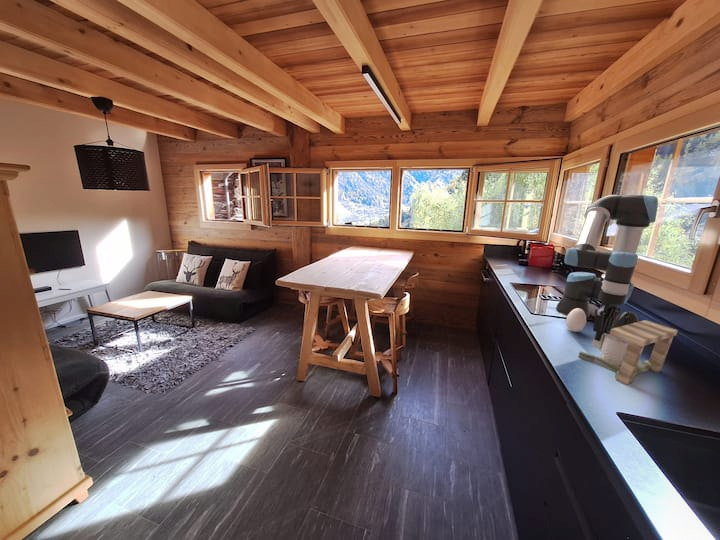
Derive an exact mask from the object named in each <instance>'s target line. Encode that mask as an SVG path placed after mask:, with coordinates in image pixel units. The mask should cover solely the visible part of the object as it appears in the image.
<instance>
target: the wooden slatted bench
mask: <svg viewBox="0 0 720 540" xmlns="http://www.w3.org/2000/svg"><path fill="white" fill-rule="evenodd" d="M678 331H679V330H678V329H676V328H672V327H670V326H666V325H663V324H660V323H656V322H653V321H650V320H647V319H644V320H641V321H639V322H636V323H632V324H628V325H624V326H621V327H617V328H613V329H611V331H610V335H613V336H616V337H618V338H621V339H623V340H626V341H629V342H628V345H627V348H626V351H625V355H624V358H623V361H622V364H621V366H616V365H614V364H612V363H610V362H608V361H606V360H603V359H601V358H600V356H596V355H594V354H591V353H587V352H583V351H582V350H581V351H579V353H578V358H581V359H583V360H586V361H590V362H593V363H595V364H597V365H599V366H601V367H604V368H605V369H607V370H610V371H612V372H614V373H616V374H615V377H614V378H615V379H616V381H618V382H619V383H620V384H621V383H622V384H624V385H625V386H629V385H631V384H632V383H633V379H634V377H635V376H637V375H640V374H642V373H644V372H648V371H652V372H655V373H660V372H661V371H662V368H663V366H664V363H665V360H666V357H667V356H668V352H669V350H670V347H671V344H672V342H673V338H674V336H677V334H678ZM651 344H654V345H653V349H652V351H651V354H650V357H649V359H645V360H644V361H641V362H640V359H641V356H642V353H643V351H644V348H645V346H648V345H651ZM598 350H599V351H601V349H598Z"/></svg>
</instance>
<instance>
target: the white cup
mask: <svg viewBox="0 0 720 540" xmlns="http://www.w3.org/2000/svg"><path fill="white" fill-rule="evenodd" d="M628 342H629V341H626V340H623V339H621V338H618V337H616V336H613V335H610V334H606V333H605V336H604V340H603V344H602V349H601V350H600V355H599V358H601V359H603V360H606V361H608V362H610V363H612V364H614V365H616V366H619V367H621V364H622V361H623V358H624V355H625V351H626V348H627V345H628Z"/></svg>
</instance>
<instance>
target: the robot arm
mask: <svg viewBox="0 0 720 540" xmlns="http://www.w3.org/2000/svg"><path fill="white" fill-rule="evenodd" d="M658 205H659V199H658V197H657V196H654V195H645V194H642V195H641V194H609V195H606V196H603V197H601V198H598V199H596V200H595V201H593V202H592V203H591V204H590V205H589V206H588V207H587V208H586V210H585V212H584V222H583V224H582V227H581V229H580V233H579V235H578V237H577V240H576V243H575V245H574V247H568V248H567V249H566V252H565V255H564V260H563V261H564V264H565V265H568V266H573V267H580V268H584V269H585V268H586V269H592V270H598V271H603V272H604V271H605V273H603V274H601V276H600V277H597V274H596V273H593V272H592V273H591V272H588V271H587V272H585V271H575V272H570V273H569V274H568V276H567V279H566V283H565V288H564V290H563V295H562V296H561V297H562V298H561V299H560V300H559V302H558V303H557V304H556V307H555V310H556V311H557V312H558V313H560V314H563V315H565V316H568V314H569V313H570V312H571V311H572V310H573V309H576V308H580V309H582V310H583V311H584V312H585V315H586V319H588V318H589V317H590V316H591V315H590V313H591V311H590V304H589V302H590V299H592V300H596V301H600V302H601V303H600V305H599V309H595V310H594V314H595V315H594V321H593V322H594V323H593V328H592V331H593V332H595V334H594V337H593V341H592V344H591V347H593V348H596V349H598V350H599V349H602V344H603V340H604V336H605V334H609V333H610V332H608V331H610V330H611V328H612V325H613V323H614V321H615V319H616V317H617V316H618V315H619V314H620V313H619V312H620V311H621V308H620V307H618V306H622V305H625V304H626V303H627V301H629V299H630V297H631V295H632V292H633V290H634V288H635V284H634V283H632V278H633V274H634V271H635V269H636V266H637V264H638V258H639V255H638V254H637V251H638V247H639V244H640V241H641V239H642V235H643V232H644V230H645V229H648V228H649V227H650V224H653V223H655V222H656V218H657V212H658ZM609 220H611V221H612V220H614V221H616V222H615V225H616V226H617V227H618V229H617V232H616V236H615V240H614V243H613V246H612V250H611V252H607V251H599V250H597V249H598V246H599V243H600V239H601V236H602V233H603V230H604V228H605V224H606V222H607V221H609Z"/></svg>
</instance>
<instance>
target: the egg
mask: <svg viewBox="0 0 720 540" xmlns="http://www.w3.org/2000/svg"><path fill="white" fill-rule="evenodd" d="M565 324H566V326H567V328H568V329H569V331H571V332H573V333H577V332H580V331H582V330H583V329H584V328H585V326H586V325H587V318H586V315H585V312H584V311H583V310H582V309H580V308H576V309H573V310H572V311H571V312H570V313H569V314H568V315H566V322H565Z"/></svg>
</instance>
